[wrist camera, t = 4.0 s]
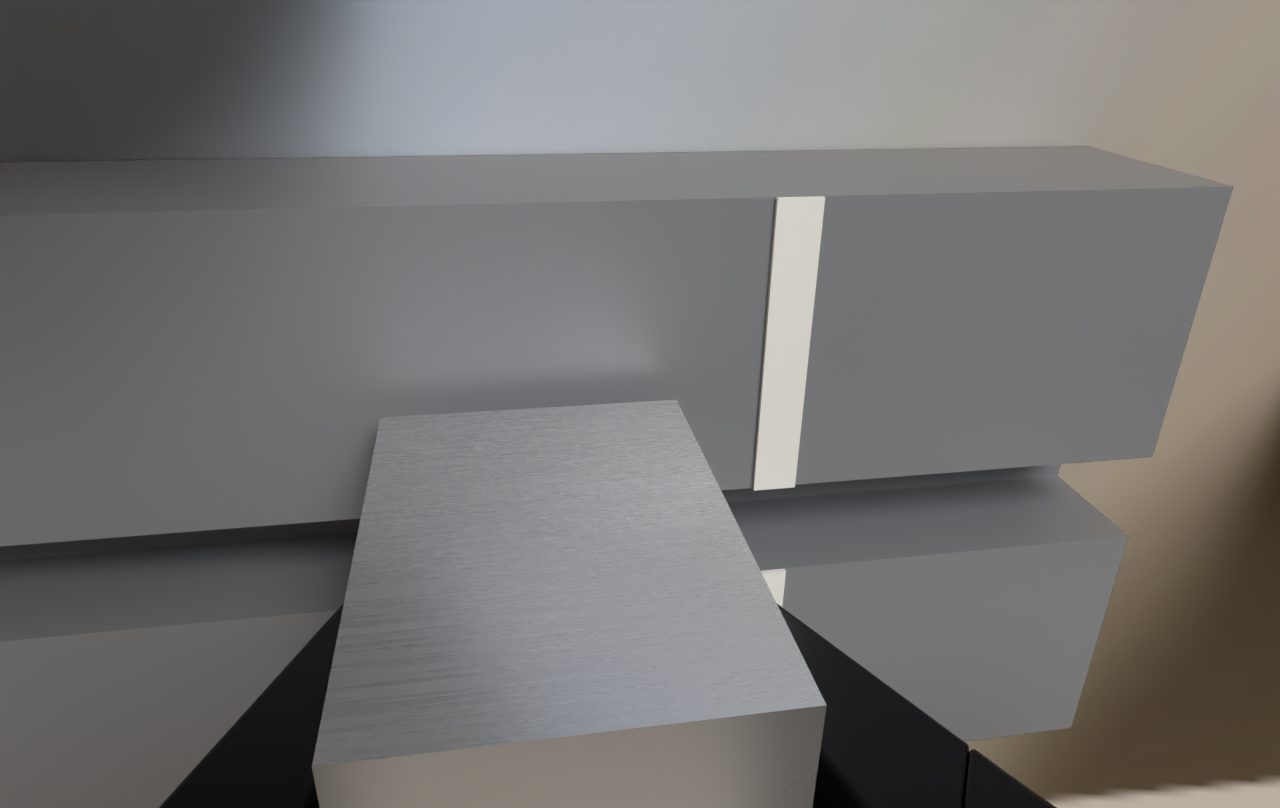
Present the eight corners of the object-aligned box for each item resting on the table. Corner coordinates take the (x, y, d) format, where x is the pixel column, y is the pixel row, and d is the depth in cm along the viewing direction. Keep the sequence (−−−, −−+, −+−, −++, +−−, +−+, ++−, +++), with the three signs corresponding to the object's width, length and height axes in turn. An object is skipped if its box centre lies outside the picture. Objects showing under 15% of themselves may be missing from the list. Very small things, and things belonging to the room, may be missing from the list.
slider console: (1087, 146, 12) (1237, 187, 10) (981, 616, 16) (1072, 731, 13) (-721, 173, 9) (-1149, 243, 7) (-352, 758, 12) (-546, 944, 10)
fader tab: (647, 340, 11) (825, 706, 5) (642, 605, 13) (773, 1084, 7) (393, 353, 10) (311, 766, 5) (423, 627, 12) (386, 1156, 7)
